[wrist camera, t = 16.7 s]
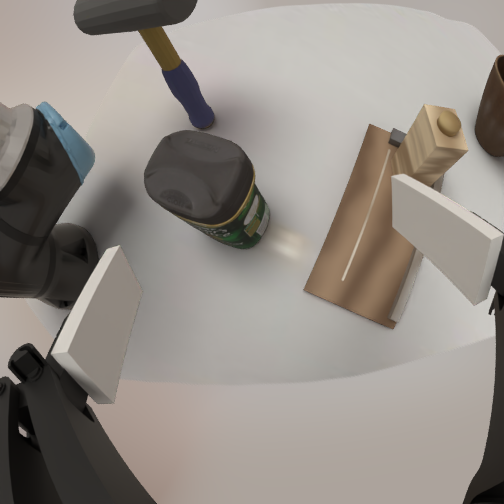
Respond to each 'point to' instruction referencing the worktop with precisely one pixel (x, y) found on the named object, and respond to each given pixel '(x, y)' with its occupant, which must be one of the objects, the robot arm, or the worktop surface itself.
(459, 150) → the beige tall block
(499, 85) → the plant pot
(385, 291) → the walnut board
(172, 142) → the coffee jar
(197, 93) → the rubber mallet
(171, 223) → the worktop surface
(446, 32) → the worktop surface
